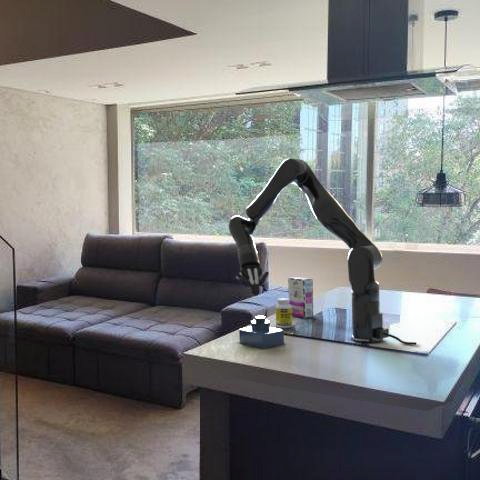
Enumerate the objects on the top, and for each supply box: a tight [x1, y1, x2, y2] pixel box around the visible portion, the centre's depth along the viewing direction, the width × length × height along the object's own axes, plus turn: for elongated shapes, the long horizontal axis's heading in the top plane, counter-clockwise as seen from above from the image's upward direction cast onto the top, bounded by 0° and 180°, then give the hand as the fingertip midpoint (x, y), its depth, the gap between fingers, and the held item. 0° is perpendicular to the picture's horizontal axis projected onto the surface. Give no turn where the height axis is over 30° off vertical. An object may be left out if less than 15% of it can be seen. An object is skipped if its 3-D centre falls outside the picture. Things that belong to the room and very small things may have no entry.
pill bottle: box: [275, 297, 293, 329], centre depth 234 cm, size 6×6×11 cm
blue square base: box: [238, 319, 285, 350], centre depth 209 cm, size 12×11×7 cm
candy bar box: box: [287, 276, 314, 319], centre depth 253 cm, size 11×5×16 cm, turn 24°
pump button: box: [254, 315, 266, 323], centre depth 213 cm, size 4×4×2 cm
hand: (256, 294), depth 217 cm, fingers closed
